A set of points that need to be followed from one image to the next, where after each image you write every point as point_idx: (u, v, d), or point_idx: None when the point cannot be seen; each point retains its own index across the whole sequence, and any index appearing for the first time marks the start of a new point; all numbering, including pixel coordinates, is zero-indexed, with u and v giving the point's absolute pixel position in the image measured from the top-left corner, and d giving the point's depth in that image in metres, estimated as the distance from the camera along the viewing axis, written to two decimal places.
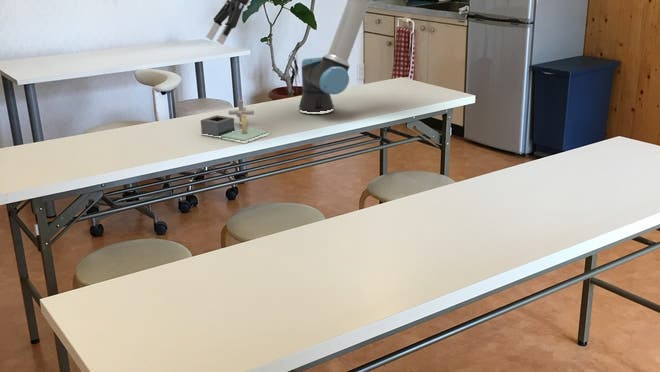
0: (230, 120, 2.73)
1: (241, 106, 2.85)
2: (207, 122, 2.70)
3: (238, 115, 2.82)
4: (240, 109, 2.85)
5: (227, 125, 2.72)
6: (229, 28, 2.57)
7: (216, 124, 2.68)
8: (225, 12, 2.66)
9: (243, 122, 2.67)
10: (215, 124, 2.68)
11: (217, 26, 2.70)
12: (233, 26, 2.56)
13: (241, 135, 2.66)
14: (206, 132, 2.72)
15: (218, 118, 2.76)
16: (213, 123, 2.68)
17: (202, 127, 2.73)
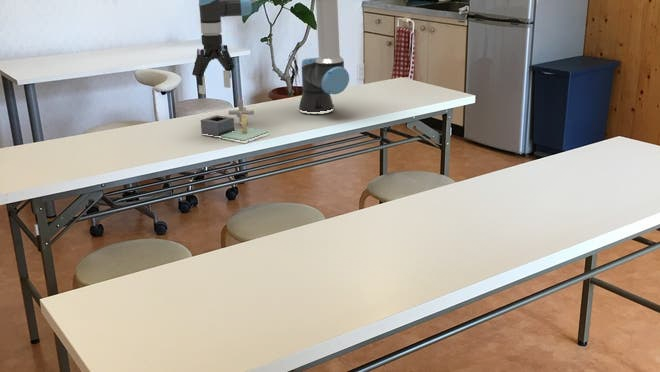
0: (230, 120, 2.73)
1: (241, 106, 2.85)
2: (207, 122, 2.70)
3: (238, 115, 2.82)
4: (240, 109, 2.85)
5: (227, 125, 2.72)
6: (198, 77, 2.61)
7: (216, 124, 2.68)
8: (218, 58, 2.68)
9: (243, 122, 2.67)
10: (215, 124, 2.68)
11: (226, 73, 2.72)
12: (195, 75, 2.59)
13: (241, 135, 2.66)
14: (206, 132, 2.72)
15: (218, 118, 2.76)
16: (213, 123, 2.68)
17: (202, 127, 2.73)
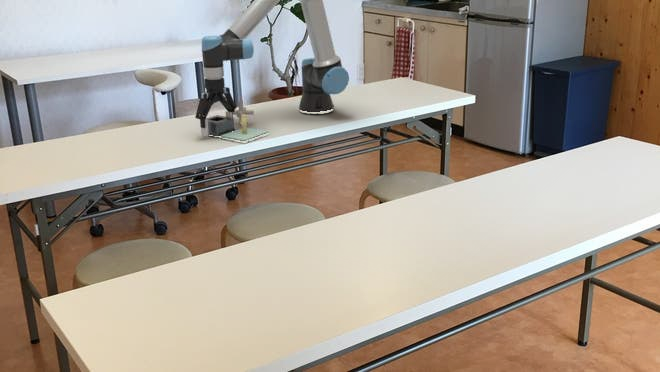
0: (230, 120, 2.73)
1: (241, 106, 2.85)
2: None
3: (238, 115, 2.82)
4: (240, 109, 2.85)
5: (227, 125, 2.72)
6: (201, 120, 2.66)
7: (216, 124, 2.68)
8: (220, 101, 2.74)
9: (243, 122, 2.67)
10: (215, 124, 2.68)
11: (229, 114, 2.77)
12: (198, 118, 2.64)
13: (241, 135, 2.66)
14: None
15: (218, 118, 2.76)
16: (213, 123, 2.68)
17: None
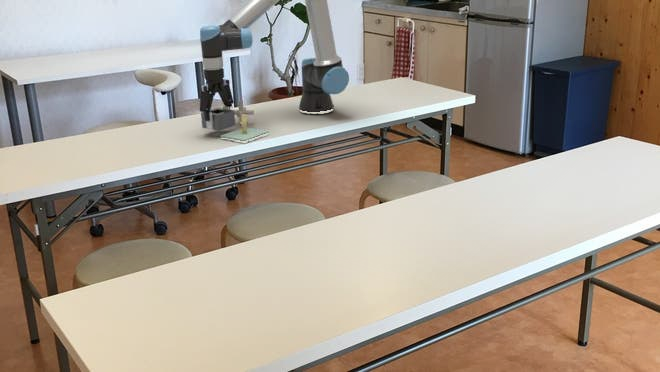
0: (230, 112, 2.72)
1: (241, 106, 2.85)
2: None
3: (238, 115, 2.82)
4: (240, 109, 2.85)
5: (228, 117, 2.71)
6: (205, 114, 2.67)
7: (216, 116, 2.67)
8: (219, 93, 2.72)
9: (243, 122, 2.67)
10: (215, 116, 2.67)
11: None
12: (203, 111, 2.65)
13: (241, 135, 2.66)
14: None
15: (218, 110, 2.75)
16: (213, 115, 2.68)
17: (202, 120, 2.72)
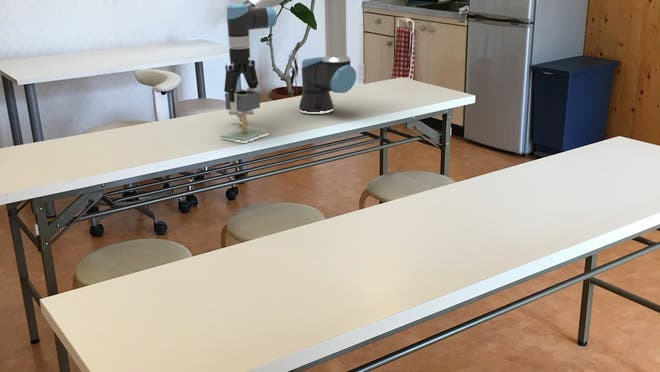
0: (255, 94, 2.64)
1: None
2: None
3: (238, 115, 2.82)
4: None
5: (253, 98, 2.63)
6: (230, 94, 2.59)
7: (241, 97, 2.59)
8: (244, 73, 2.64)
9: (243, 122, 2.67)
10: (240, 97, 2.59)
11: (250, 90, 2.67)
12: (228, 92, 2.57)
13: (241, 135, 2.66)
14: None
15: (243, 92, 2.67)
16: (238, 96, 2.59)
17: (226, 101, 2.64)
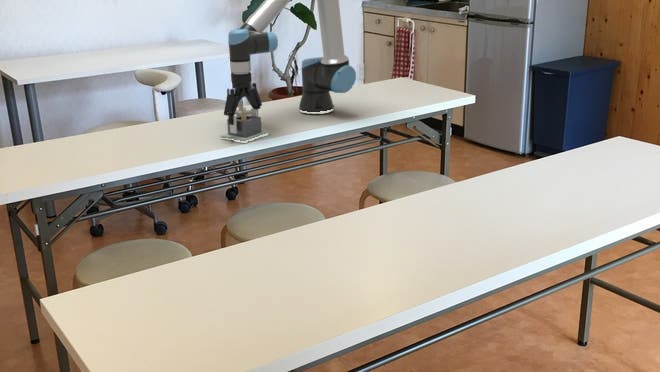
0: (257, 119, 2.67)
1: (241, 106, 2.85)
2: None
3: (238, 115, 2.82)
4: (240, 109, 2.85)
5: (254, 124, 2.66)
6: (229, 117, 2.61)
7: (243, 123, 2.62)
8: (246, 96, 2.67)
9: None
10: (242, 123, 2.62)
11: (254, 111, 2.71)
12: (227, 115, 2.59)
13: None
14: None
15: None
16: (240, 122, 2.63)
17: (228, 126, 2.67)
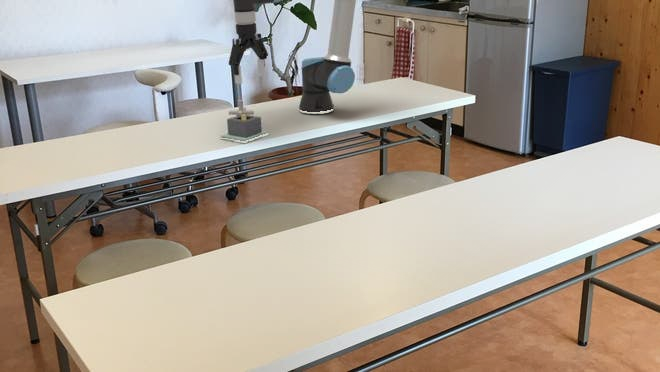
0: (257, 119, 2.67)
1: (241, 106, 2.85)
2: (234, 121, 2.65)
3: (238, 115, 2.82)
4: (240, 109, 2.85)
5: (254, 124, 2.66)
6: (234, 67, 2.59)
7: (243, 123, 2.62)
8: (252, 47, 2.67)
9: None
10: (242, 123, 2.62)
11: (261, 61, 2.71)
12: (232, 65, 2.57)
13: None
14: (233, 131, 2.67)
15: None
16: (240, 122, 2.63)
17: (228, 126, 2.67)
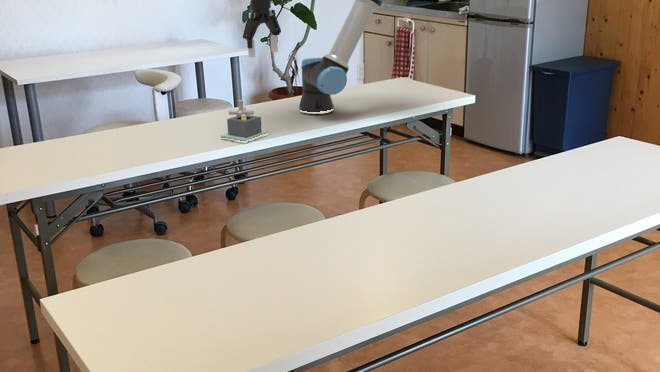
0: (257, 119, 2.67)
1: (241, 106, 2.85)
2: (234, 121, 2.65)
3: (238, 115, 2.82)
4: (240, 109, 2.85)
5: (254, 124, 2.66)
6: (248, 40, 2.68)
7: (243, 123, 2.62)
8: (266, 23, 2.75)
9: None
10: (242, 123, 2.62)
11: (274, 37, 2.79)
12: (246, 38, 2.66)
13: None
14: (233, 131, 2.67)
15: None
16: (240, 122, 2.63)
17: (228, 126, 2.67)
